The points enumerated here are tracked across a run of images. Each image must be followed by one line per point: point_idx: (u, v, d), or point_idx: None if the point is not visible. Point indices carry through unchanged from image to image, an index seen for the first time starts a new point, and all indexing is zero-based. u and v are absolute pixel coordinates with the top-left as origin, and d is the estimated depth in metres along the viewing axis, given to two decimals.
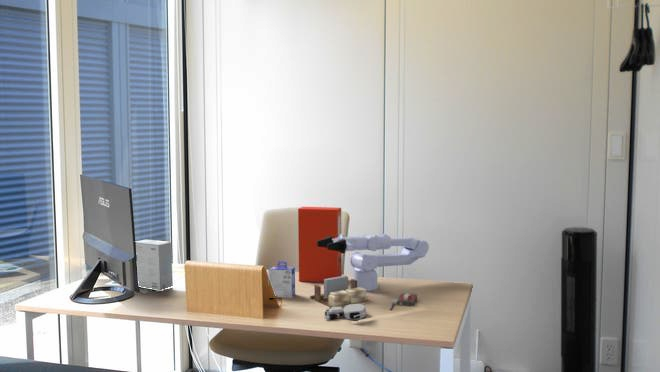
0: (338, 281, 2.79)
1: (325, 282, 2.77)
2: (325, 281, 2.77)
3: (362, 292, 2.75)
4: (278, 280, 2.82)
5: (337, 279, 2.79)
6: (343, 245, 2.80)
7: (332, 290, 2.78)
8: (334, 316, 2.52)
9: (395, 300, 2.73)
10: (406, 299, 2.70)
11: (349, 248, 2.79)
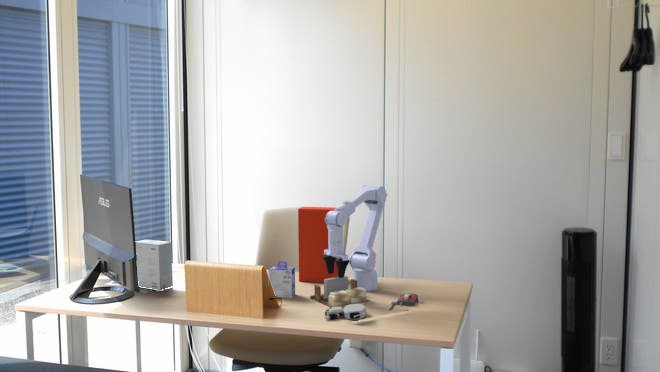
0: (338, 281, 2.79)
1: (325, 282, 2.77)
2: (325, 281, 2.77)
3: (362, 292, 2.75)
4: (278, 280, 2.82)
5: (337, 279, 2.79)
6: None
7: (332, 290, 2.78)
8: (334, 316, 2.52)
9: (395, 300, 2.73)
10: (406, 299, 2.70)
11: (347, 258, 2.73)
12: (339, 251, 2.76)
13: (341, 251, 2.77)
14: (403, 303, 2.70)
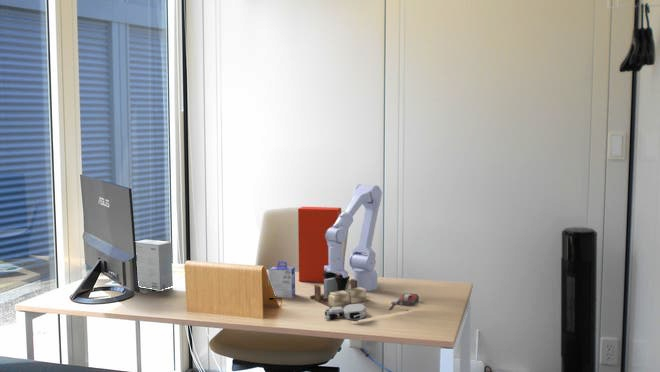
0: None
1: (325, 282, 2.77)
2: (325, 281, 2.77)
3: (362, 292, 2.75)
4: (278, 280, 2.82)
5: None
6: None
7: (332, 290, 2.78)
8: (334, 316, 2.52)
9: (396, 300, 2.73)
10: (406, 299, 2.70)
11: (347, 275, 2.74)
12: (339, 268, 2.77)
13: (341, 268, 2.77)
14: (403, 303, 2.70)
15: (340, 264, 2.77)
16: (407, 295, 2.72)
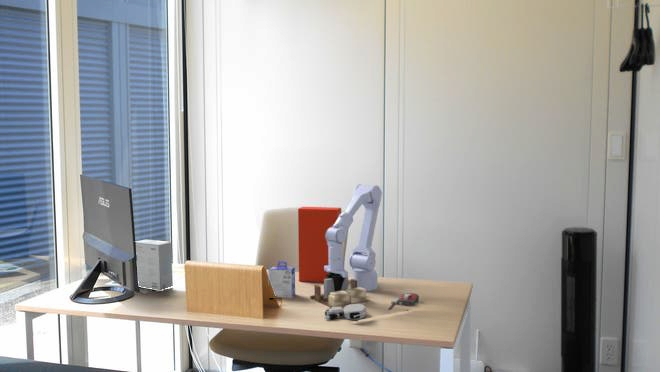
0: None
1: (325, 282, 2.77)
2: (325, 281, 2.77)
3: (362, 292, 2.75)
4: (278, 280, 2.82)
5: None
6: None
7: (332, 290, 2.78)
8: (334, 316, 2.52)
9: (395, 299, 2.73)
10: (406, 299, 2.70)
11: (347, 275, 2.74)
12: (339, 268, 2.77)
13: (341, 268, 2.77)
14: (403, 303, 2.70)
15: (340, 264, 2.77)
16: (407, 295, 2.72)
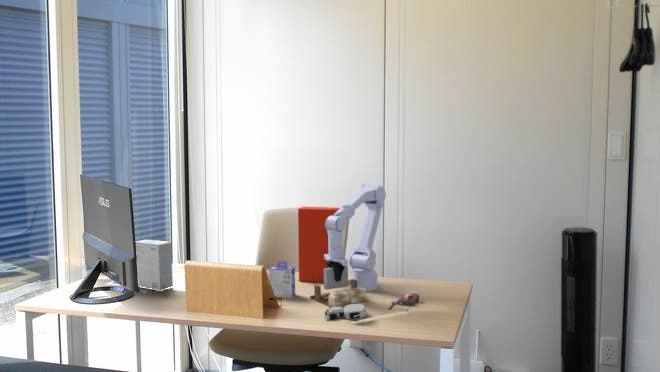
0: None
1: (325, 271, 2.77)
2: (325, 270, 2.77)
3: (362, 292, 2.75)
4: (278, 280, 2.82)
5: None
6: None
7: (332, 279, 2.78)
8: (334, 316, 2.52)
9: (396, 300, 2.74)
10: (406, 299, 2.70)
11: (347, 263, 2.73)
12: (339, 256, 2.76)
13: (341, 256, 2.77)
14: (403, 303, 2.70)
15: (340, 252, 2.76)
16: (407, 295, 2.72)
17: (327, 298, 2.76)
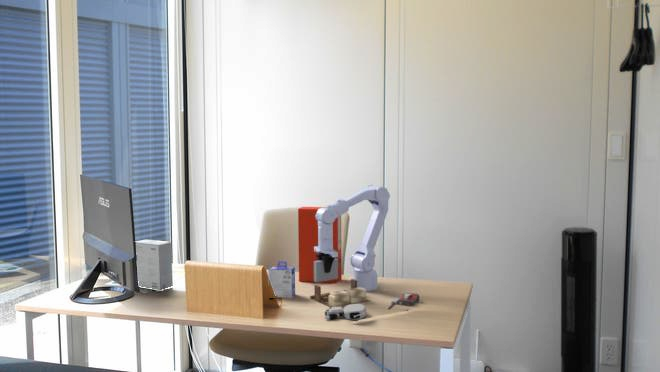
0: None
1: (315, 264, 2.80)
2: (315, 263, 2.80)
3: (362, 292, 2.75)
4: (278, 280, 2.82)
5: None
6: None
7: (322, 272, 2.81)
8: (334, 316, 2.52)
9: (396, 299, 2.74)
10: (406, 299, 2.70)
11: (336, 255, 2.77)
12: (329, 248, 2.80)
13: (331, 248, 2.81)
14: (403, 303, 2.70)
15: (330, 244, 2.80)
16: (407, 295, 2.72)
17: (327, 298, 2.76)
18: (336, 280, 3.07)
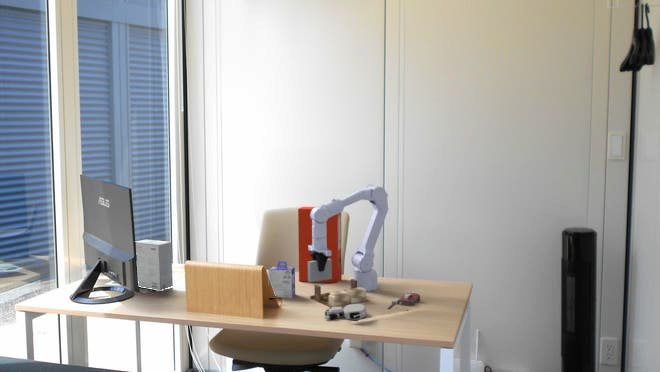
0: None
1: (309, 264, 2.83)
2: (309, 263, 2.83)
3: (362, 292, 2.75)
4: (278, 280, 2.82)
5: None
6: None
7: (316, 272, 2.84)
8: (334, 316, 2.52)
9: (396, 299, 2.74)
10: (406, 299, 2.70)
11: (330, 253, 2.79)
12: (322, 247, 2.83)
13: (324, 247, 2.83)
14: (403, 303, 2.70)
15: (323, 243, 2.83)
16: (407, 295, 2.72)
17: (327, 298, 2.76)
18: (336, 280, 3.07)
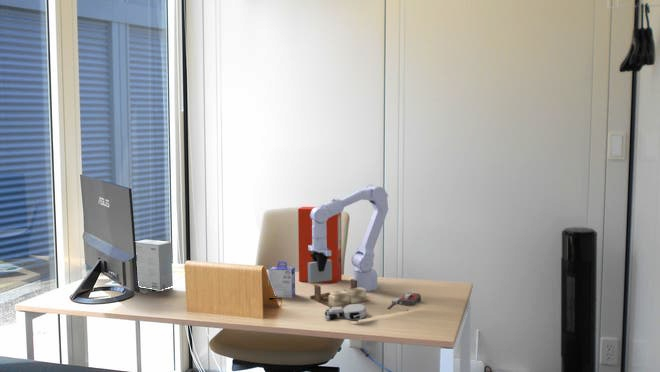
0: None
1: (309, 265, 2.83)
2: (309, 264, 2.83)
3: (362, 292, 2.75)
4: (278, 280, 2.82)
5: None
6: None
7: (316, 273, 2.84)
8: (334, 316, 2.52)
9: (396, 299, 2.74)
10: (406, 298, 2.70)
11: (330, 253, 2.79)
12: (322, 247, 2.83)
13: (324, 247, 2.83)
14: (403, 303, 2.70)
15: (323, 243, 2.83)
16: (408, 295, 2.73)
17: (327, 298, 2.76)
18: (336, 280, 3.07)
